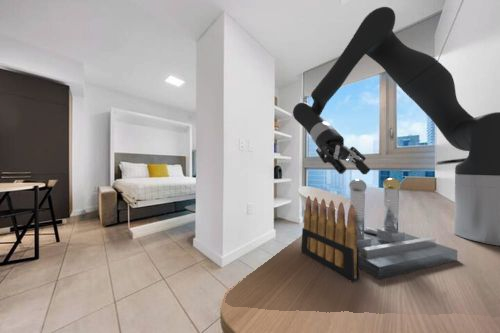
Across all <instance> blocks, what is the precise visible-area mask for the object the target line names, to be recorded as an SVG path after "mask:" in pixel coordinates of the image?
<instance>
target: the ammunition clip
mask: <svg viewBox="0 0 500 333" xmlns="http://www.w3.org/2000/svg"><path fill="white" fill-rule="evenodd" d="M335 208H336V207H335V204H334V201H333V200H330V201H329V204H328V211H327V204H326V200H325V198H322V199H321V202H320V205H319V202H318V199H317V196H316V197H314V198H313V203H312V201H311V197H310V196H309V195H308V196H307V198H306V201H305V209H304V216H303V227H302V231H301V234H302V235H301V248H300V252H301V251H302V252H303V253H302V252H301V253H302V254H304V255H305V254H306V256H308V257H309V258H311V259H312V260H314V261H316V262H317V263H319V264H320V265H323V266H324V267H326V268H328V269H329V270H331V271H332V272H334V273H336V274H338V275H339V276H341V277H343V278H345V279H347V280H348V281H350V282H351V283H354V282H357V281H358V280H359V279H360V267H359V251H358V247H357V229H356V214H355V209H354V206H353V205H352V204H351V206H350V205H349V208H348V212H347V221H346V215H345V214H346V212H345V211H346V210H345V207H344V204H343V201H342V202H339V205H338V207H337V214H336V209H335Z"/></svg>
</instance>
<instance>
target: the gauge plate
mask: <svg viewBox="0 0 500 333" xmlns="http://www.w3.org/2000/svg"><path fill="white" fill-rule="evenodd" d="M373 229H374V230H377V229H378V228H373ZM364 236H366V237H368V238H371V246H370V247H364V248H362V250H360V251H359V269H362V270H363V271H364V272H366V273H367V274H369V275H371V276H372V277H375V278H376V279H378V280H383V279H386V278H387V279H388V278H391V277H394V276H398V275H399V276H400V275H403V274H407V273H411V272H415V271H420V270H423V269H428V268H432V267H435V266H440V265H444V264H449V263H452V262H455V261H458V250H457V249H454V248H451V247H448V246H445V245H444V244H443V245H442V244H438V243H436V238H433V237H430V236H429V237H422V238H421V237H418V236H414V235H411V234H408V233H405V241H402V242H396V243H390V242H387V241H385V240H382V239H380V238H377V234H376V233H373V232H371V231H368V230H366V229H364Z"/></svg>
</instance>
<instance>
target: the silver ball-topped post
mask: <svg viewBox="0 0 500 333" xmlns="http://www.w3.org/2000/svg"><path fill="white" fill-rule="evenodd" d="M348 187H349V190H350V191H349V192H350V196H349V197H350V198H349V207H350V206H351V204H352V205H353V206H354V209H355V214H356V229H357V247H358V251H360V250H362V248H364V247H370V246H371V238H368V237H366V236H364V230H365V215H366V214H365V211H366V210H365V208H366V206H365V205H366V200H365V199H366V191H367V188H368V187H367V184H366V182H365V181H364V180H362V179H360V178H356V179H353V180H351V181H350V182H349V185H348Z"/></svg>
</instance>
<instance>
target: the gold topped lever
mask: <svg viewBox="0 0 500 333" xmlns="http://www.w3.org/2000/svg"><path fill="white" fill-rule="evenodd" d="M382 182H383V183H382V186H383V193H384V194H383V227H382V228H376V229H377V230H374V229H375V228H371V227H368V226H366V227H365V230H368V231H371V232H373V233H376V234H377V238H380V239H382V240H385V241H387V242H390V243H396V242H402V241H405V234H406V232H405V231H403V230H399V213H400V211H399V210H400V209H399V208H400V188H401V182H400V181H399V180H398V179H397V178H394V177H389V178H386V179H384V181H382Z"/></svg>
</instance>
